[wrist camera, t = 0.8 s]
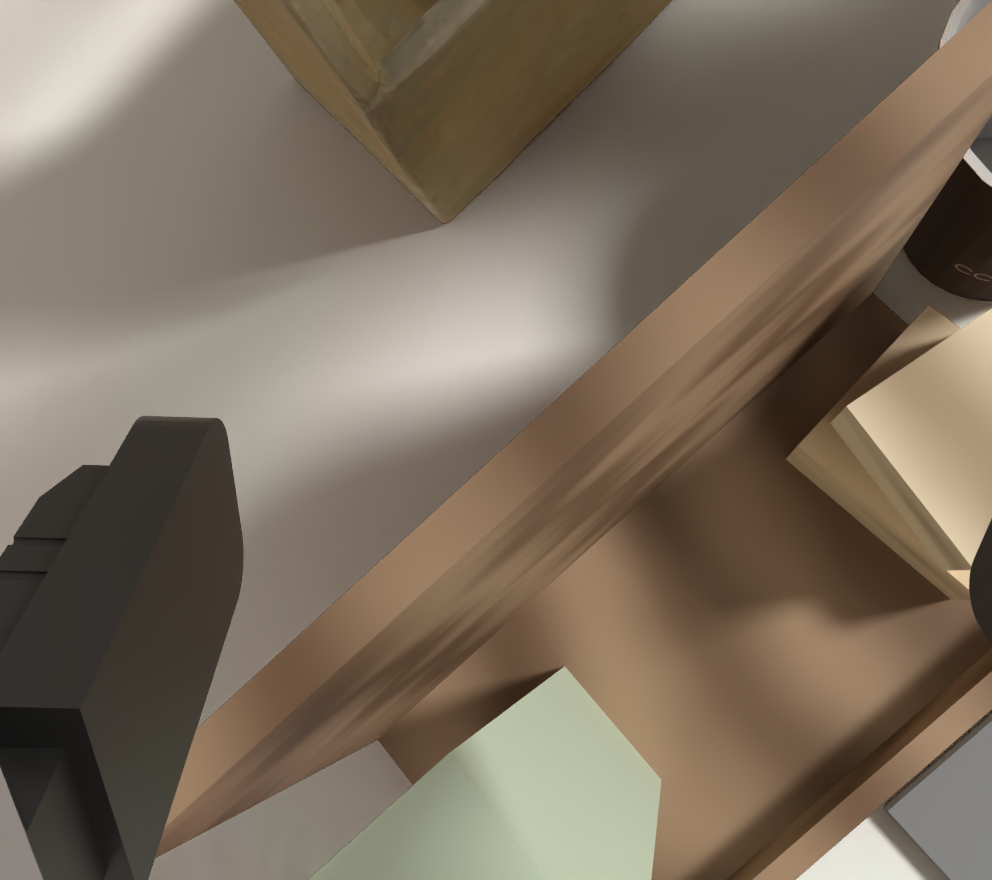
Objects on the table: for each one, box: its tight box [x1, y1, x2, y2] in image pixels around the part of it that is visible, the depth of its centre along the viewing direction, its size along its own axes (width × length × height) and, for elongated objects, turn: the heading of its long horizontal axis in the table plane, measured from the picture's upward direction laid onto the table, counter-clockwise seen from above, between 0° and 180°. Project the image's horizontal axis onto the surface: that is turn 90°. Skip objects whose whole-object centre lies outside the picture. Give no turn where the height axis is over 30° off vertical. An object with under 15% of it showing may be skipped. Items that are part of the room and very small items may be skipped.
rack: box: [155, 1, 992, 880], centre depth 25 cm, size 24×13×18 cm, turn 131°
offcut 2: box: [830, 309, 992, 571], centre depth 27 cm, size 5×6×3 cm
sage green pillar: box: [308, 666, 661, 880], centre depth 24 cm, size 4×5×17 cm
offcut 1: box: [786, 305, 971, 601], centre depth 30 cm, size 6×7×4 cm
